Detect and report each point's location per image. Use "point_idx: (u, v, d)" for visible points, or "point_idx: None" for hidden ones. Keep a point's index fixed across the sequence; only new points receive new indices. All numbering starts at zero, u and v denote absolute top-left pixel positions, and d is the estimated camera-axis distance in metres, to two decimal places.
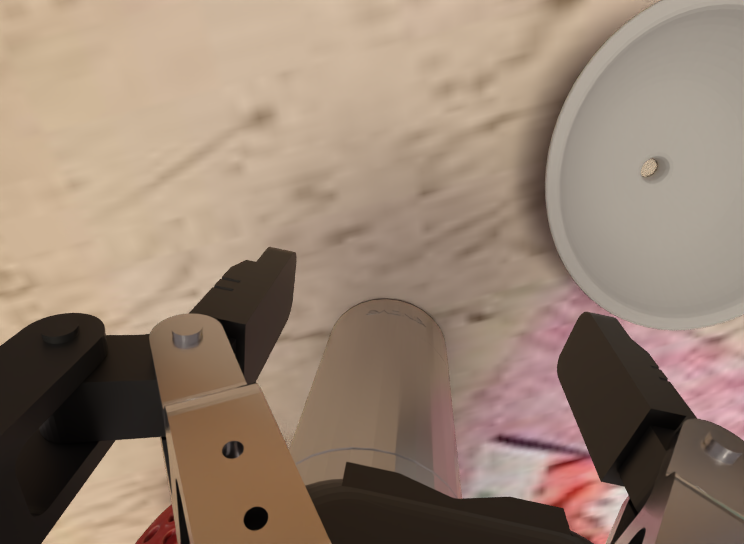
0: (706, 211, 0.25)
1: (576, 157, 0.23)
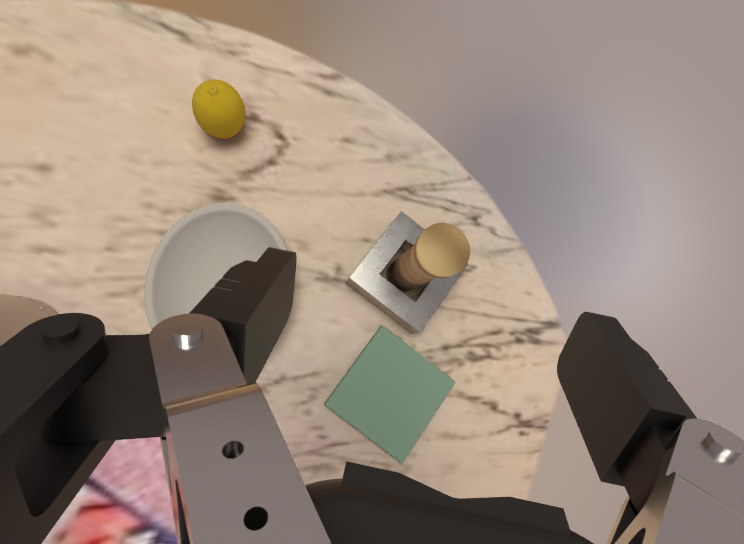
0: None
1: (183, 256, 0.44)
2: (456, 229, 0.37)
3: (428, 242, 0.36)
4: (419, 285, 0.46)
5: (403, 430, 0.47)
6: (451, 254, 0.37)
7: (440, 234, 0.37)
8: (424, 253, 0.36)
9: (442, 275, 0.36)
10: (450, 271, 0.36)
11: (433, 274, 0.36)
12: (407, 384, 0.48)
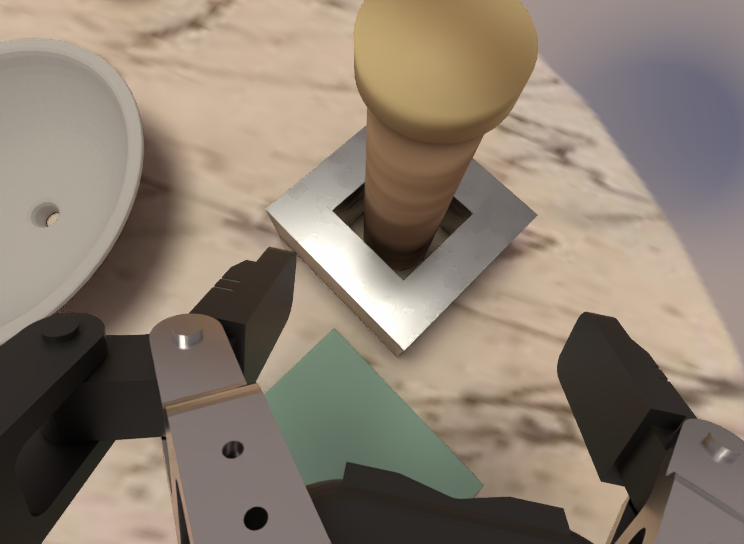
0: (45, 272, 0.23)
1: None
2: None
3: (394, 11, 0.11)
4: (411, 236, 0.19)
5: None
6: (470, 53, 0.11)
7: None
8: (374, 39, 0.11)
9: (427, 112, 0.10)
10: (458, 102, 0.10)
11: (398, 112, 0.11)
12: None
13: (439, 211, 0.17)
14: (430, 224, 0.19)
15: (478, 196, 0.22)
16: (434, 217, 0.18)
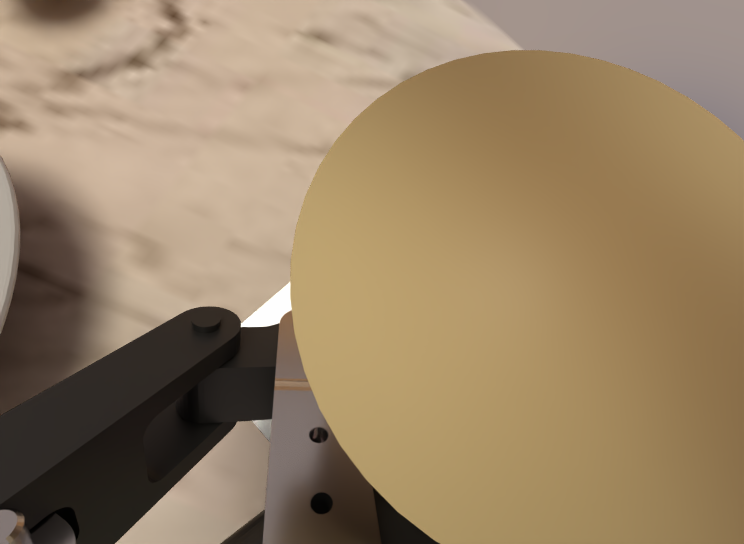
0: None
1: None
2: (690, 117, 0.04)
3: (414, 187, 0.04)
4: None
5: None
6: (643, 334, 0.04)
7: (539, 136, 0.04)
8: (353, 283, 0.04)
9: None
10: (626, 534, 0.03)
11: None
12: None
13: None
14: None
15: None
16: None
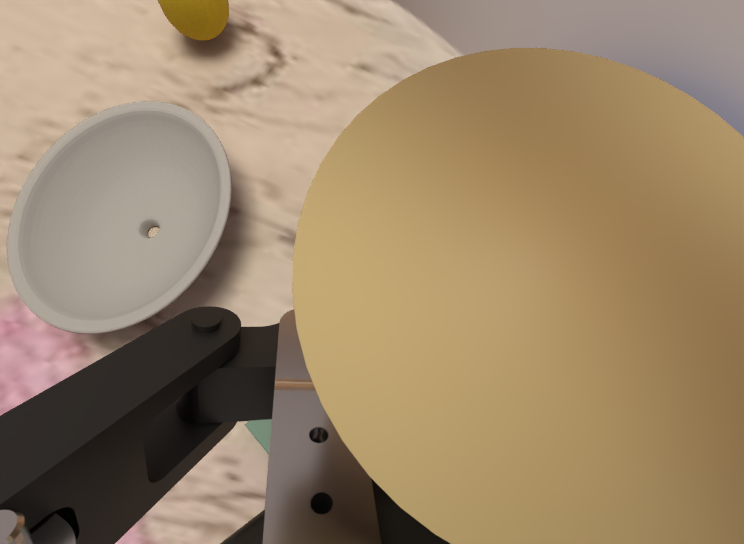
0: (153, 271, 0.31)
1: (95, 169, 0.32)
2: (692, 114, 0.04)
3: (416, 184, 0.04)
4: None
5: None
6: (646, 331, 0.04)
7: (541, 133, 0.04)
8: (355, 279, 0.04)
9: None
10: (627, 529, 0.03)
11: None
12: None
13: None
14: None
15: None
16: None
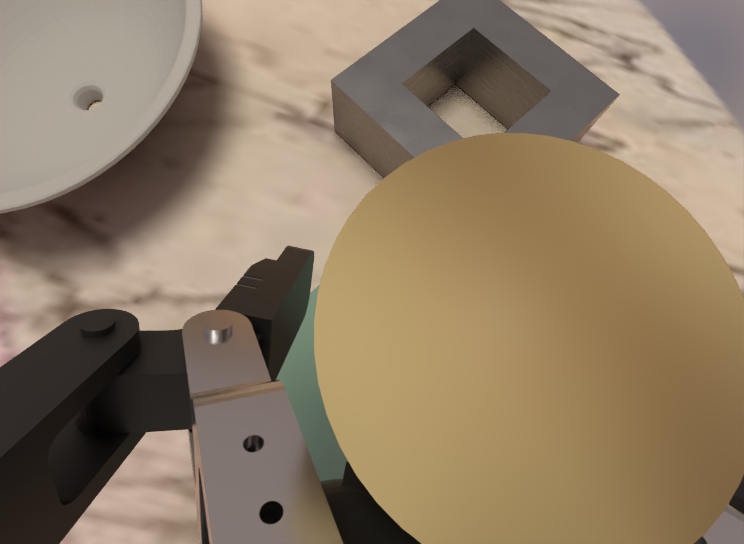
0: (89, 150, 0.21)
1: (5, 6, 0.22)
2: (647, 193, 0.05)
3: (415, 256, 0.05)
4: None
5: None
6: (601, 382, 0.04)
7: (520, 210, 0.05)
8: (365, 340, 0.04)
9: None
10: None
11: None
12: None
13: None
14: None
15: (556, 75, 0.21)
16: None
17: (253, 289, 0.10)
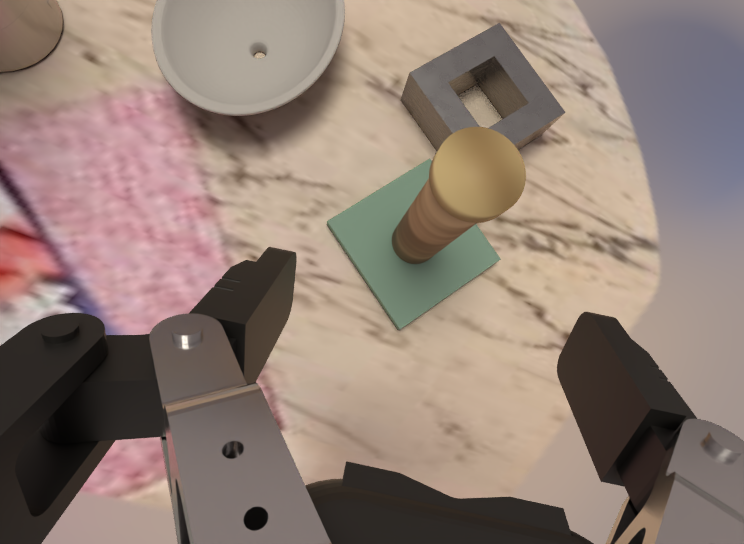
0: (262, 85, 0.36)
1: None
2: (512, 147, 0.22)
3: (458, 151, 0.21)
4: (430, 249, 0.30)
5: (414, 290, 0.35)
6: (491, 183, 0.21)
7: (482, 145, 0.21)
8: (445, 165, 0.21)
9: (463, 210, 0.21)
10: (479, 208, 0.21)
11: (449, 205, 0.21)
12: None
13: (452, 240, 0.28)
14: (444, 245, 0.29)
15: (533, 94, 0.36)
16: (448, 242, 0.29)
17: (231, 292, 0.10)
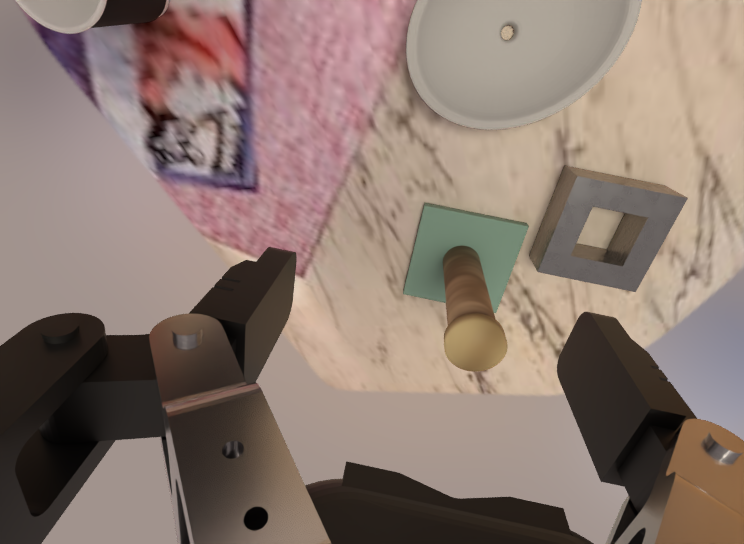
0: (478, 73, 0.37)
1: None
2: (503, 351, 0.33)
3: (475, 331, 0.32)
4: None
5: (431, 284, 0.48)
6: (473, 355, 0.33)
7: (490, 339, 0.32)
8: (461, 331, 0.32)
9: (446, 353, 0.33)
10: (454, 359, 0.33)
11: (444, 344, 0.33)
12: None
13: None
14: None
15: (634, 264, 0.41)
16: None
17: (231, 292, 0.10)
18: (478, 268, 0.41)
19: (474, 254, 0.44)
